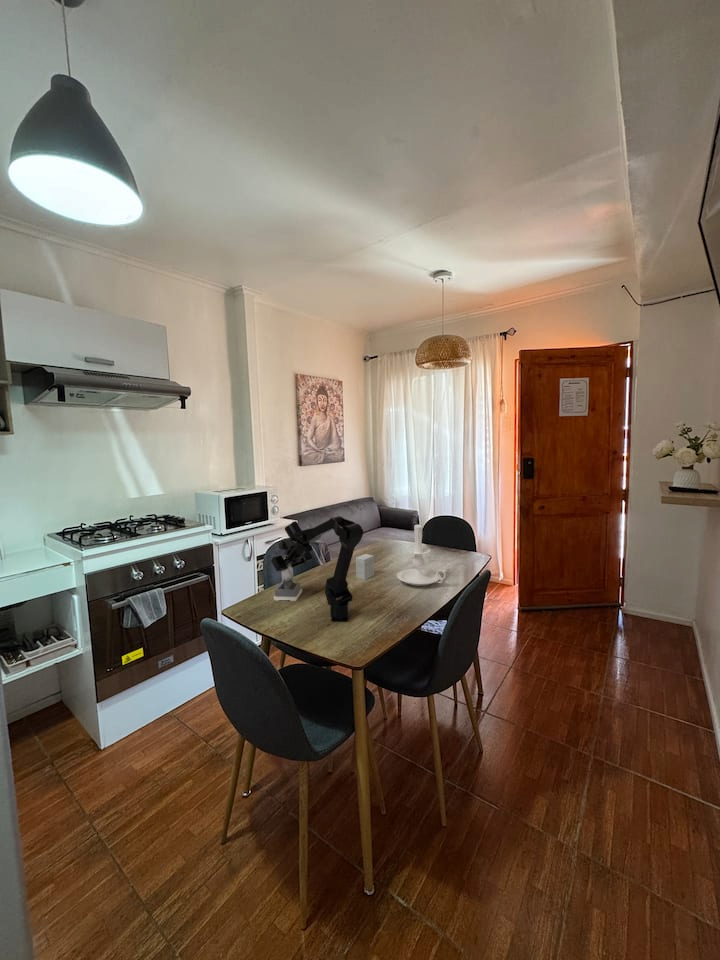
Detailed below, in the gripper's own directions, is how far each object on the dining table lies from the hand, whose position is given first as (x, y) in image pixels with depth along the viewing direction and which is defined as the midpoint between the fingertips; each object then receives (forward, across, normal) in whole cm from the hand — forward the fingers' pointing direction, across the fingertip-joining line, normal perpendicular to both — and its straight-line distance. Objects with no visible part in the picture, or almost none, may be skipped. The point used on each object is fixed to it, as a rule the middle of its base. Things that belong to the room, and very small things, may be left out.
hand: (285, 569), depth 179 cm
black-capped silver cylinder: (+4, 0, +6) cm, 7 cm away
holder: (+8, 0, +9) cm, 12 cm away
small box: (0, -39, +17) cm, 43 cm away
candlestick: (-18, -50, +36) cm, 65 cm away
